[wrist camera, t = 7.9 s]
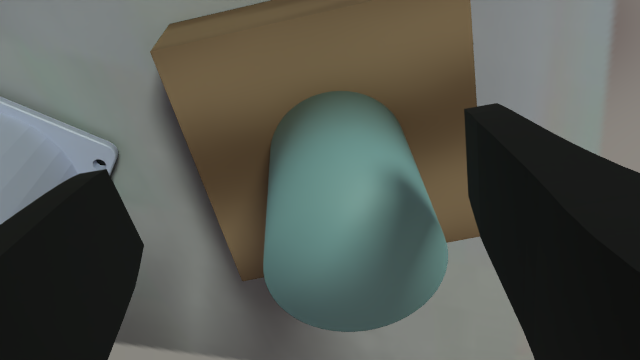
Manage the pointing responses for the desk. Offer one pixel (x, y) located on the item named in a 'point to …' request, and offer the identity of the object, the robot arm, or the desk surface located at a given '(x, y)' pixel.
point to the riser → (312, 79)
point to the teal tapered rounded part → (348, 217)
